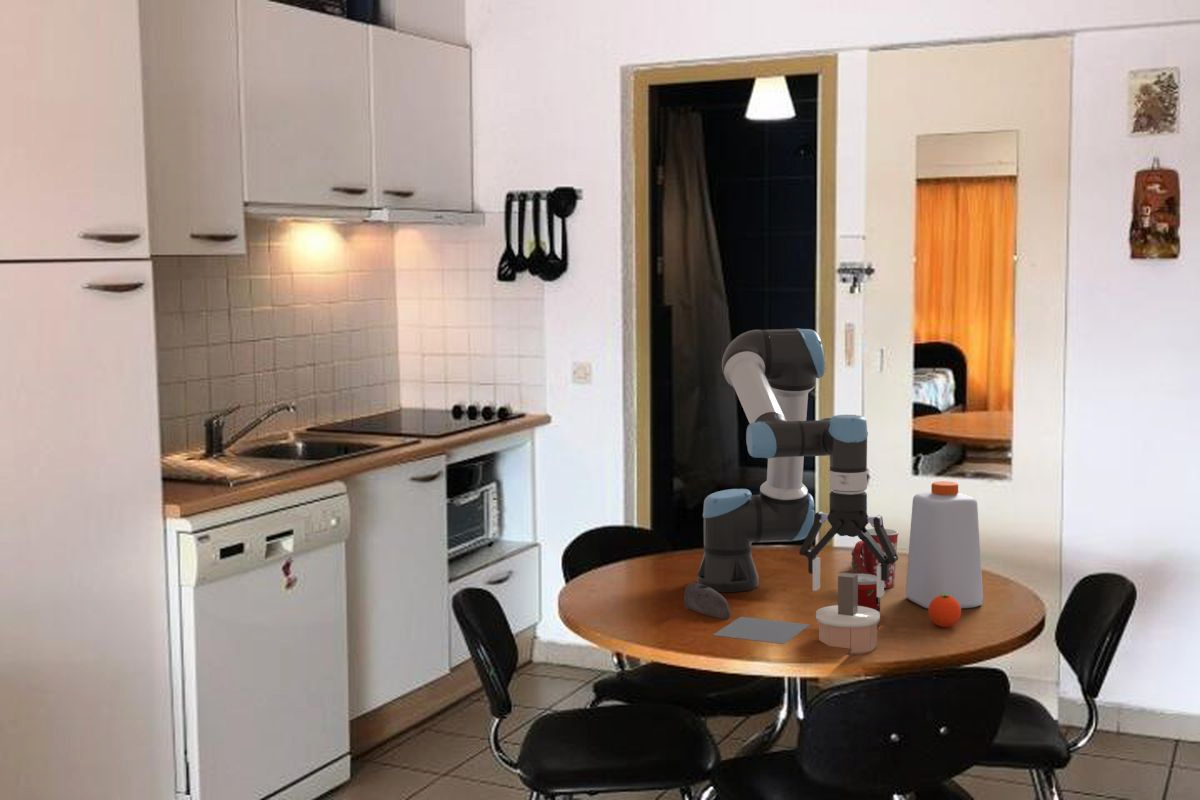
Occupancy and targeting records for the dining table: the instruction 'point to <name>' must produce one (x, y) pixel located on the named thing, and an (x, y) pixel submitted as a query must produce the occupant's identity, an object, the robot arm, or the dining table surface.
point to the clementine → (944, 610)
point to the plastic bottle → (944, 547)
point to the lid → (848, 606)
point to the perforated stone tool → (706, 601)
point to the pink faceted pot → (849, 638)
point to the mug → (870, 560)
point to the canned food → (868, 592)
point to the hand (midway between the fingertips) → (848, 592)
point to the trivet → (761, 630)
